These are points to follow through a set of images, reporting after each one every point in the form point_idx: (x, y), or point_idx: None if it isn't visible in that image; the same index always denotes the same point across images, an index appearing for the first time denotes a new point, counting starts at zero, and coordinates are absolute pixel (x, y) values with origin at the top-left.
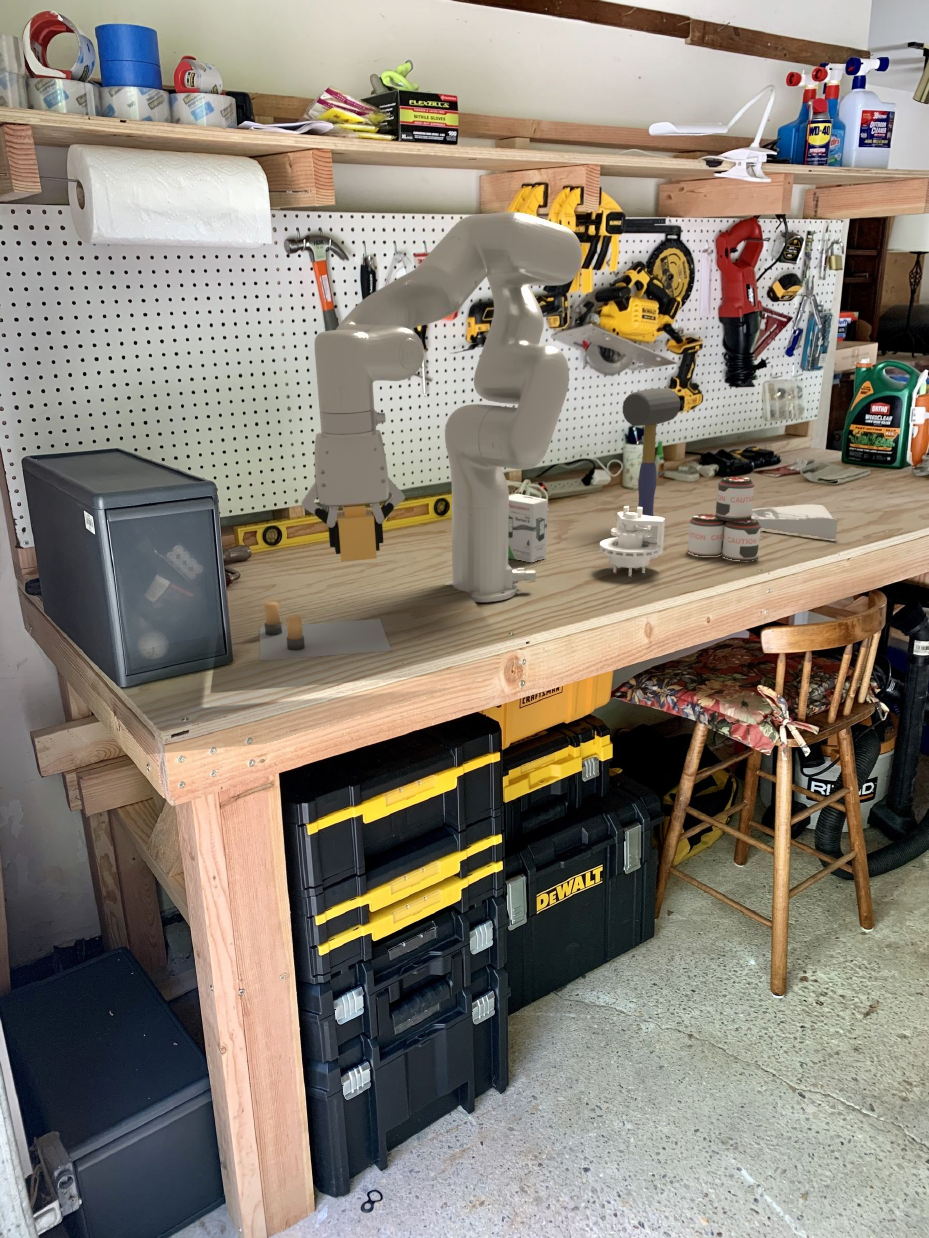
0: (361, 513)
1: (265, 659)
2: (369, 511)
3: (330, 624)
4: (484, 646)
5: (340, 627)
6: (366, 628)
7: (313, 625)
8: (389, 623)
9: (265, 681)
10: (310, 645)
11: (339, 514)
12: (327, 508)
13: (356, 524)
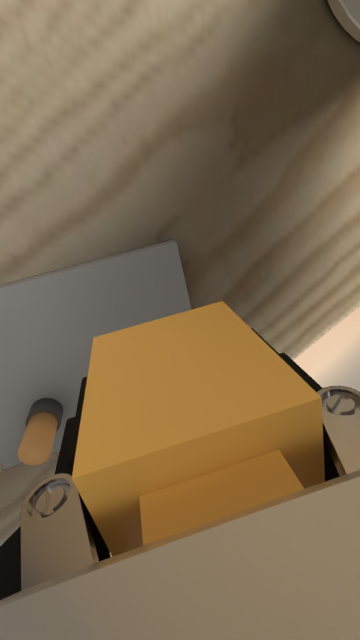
0: None
1: (12, 465)
2: (312, 470)
3: (75, 282)
4: (340, 318)
5: (102, 300)
6: (156, 301)
7: (37, 291)
8: (187, 204)
9: (35, 485)
10: (70, 397)
11: (127, 546)
12: (22, 582)
13: None
